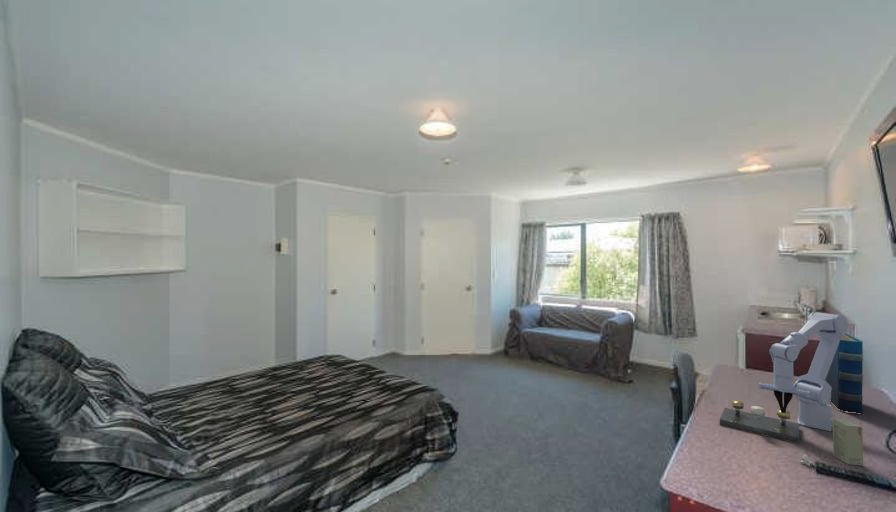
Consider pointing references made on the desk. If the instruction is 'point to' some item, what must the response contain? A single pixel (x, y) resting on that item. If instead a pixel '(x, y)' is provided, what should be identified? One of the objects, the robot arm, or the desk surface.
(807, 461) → the adhesive hook
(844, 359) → the book
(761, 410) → the middle white knob
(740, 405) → the outer brass knob
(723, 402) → the desk surface
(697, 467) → the desk surface
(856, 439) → the skincare box
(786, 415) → the inner brass knob
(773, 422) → the plate
